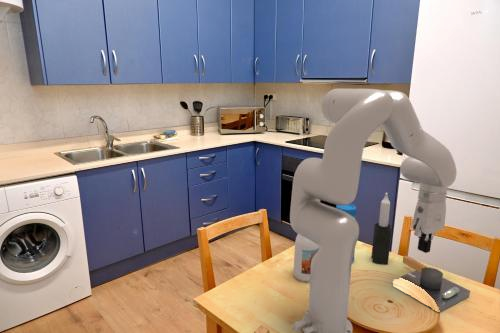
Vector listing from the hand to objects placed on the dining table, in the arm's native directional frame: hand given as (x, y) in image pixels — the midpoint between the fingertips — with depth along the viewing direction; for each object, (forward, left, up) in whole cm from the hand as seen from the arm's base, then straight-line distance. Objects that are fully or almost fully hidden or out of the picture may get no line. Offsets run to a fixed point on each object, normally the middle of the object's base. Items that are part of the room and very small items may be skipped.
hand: (423, 250), depth 110 cm
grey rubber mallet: (-5, -3, -6) cm, 9 cm away
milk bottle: (-33, +18, -9) cm, 38 cm away
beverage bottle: (-15, +20, -9) cm, 26 cm away
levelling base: (-6, -7, -9) cm, 13 cm away
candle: (-4, +13, -9) cm, 16 cm away
